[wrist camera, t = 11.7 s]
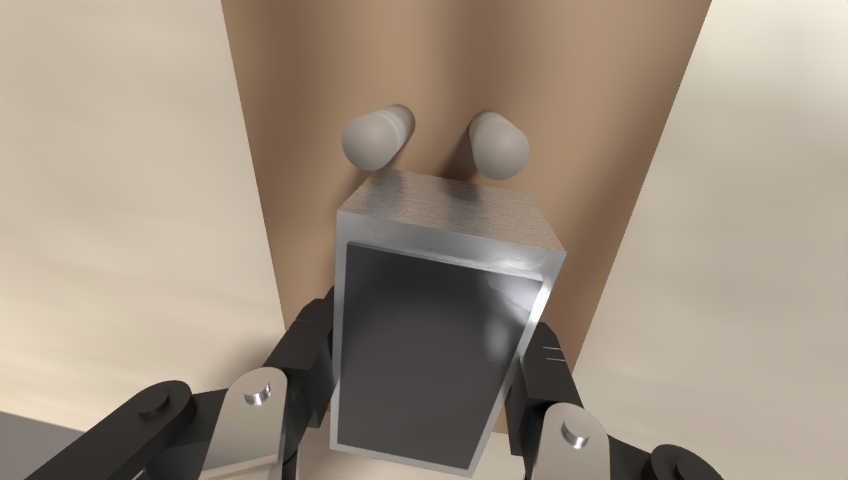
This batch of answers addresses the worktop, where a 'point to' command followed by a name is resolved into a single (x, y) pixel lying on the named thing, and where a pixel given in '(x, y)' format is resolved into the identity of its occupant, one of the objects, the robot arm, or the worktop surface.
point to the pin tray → (458, 118)
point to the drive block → (433, 314)
